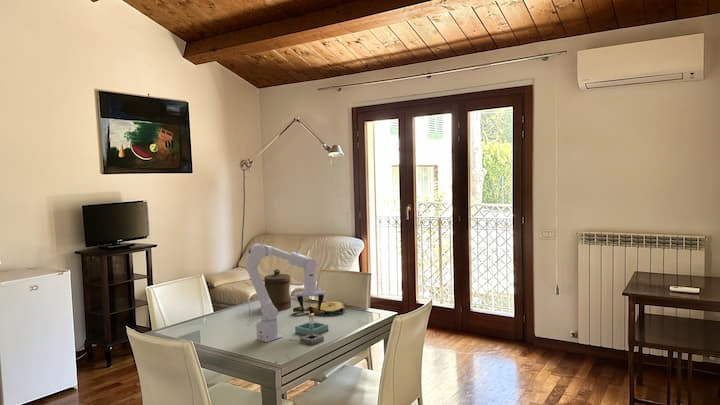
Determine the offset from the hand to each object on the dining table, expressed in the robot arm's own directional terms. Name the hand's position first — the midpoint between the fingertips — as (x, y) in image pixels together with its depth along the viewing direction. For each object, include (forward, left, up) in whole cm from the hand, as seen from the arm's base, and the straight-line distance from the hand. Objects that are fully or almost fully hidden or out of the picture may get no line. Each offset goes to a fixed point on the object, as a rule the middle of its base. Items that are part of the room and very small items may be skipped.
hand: (311, 311), depth 232 cm
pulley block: (+27, +20, -10) cm, 35 cm away
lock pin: (0, 0, -9) cm, 9 cm away
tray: (0, 0, -10) cm, 10 cm away
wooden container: (+22, +49, -10) cm, 55 cm away
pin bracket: (-10, -10, -10) cm, 17 cm away
